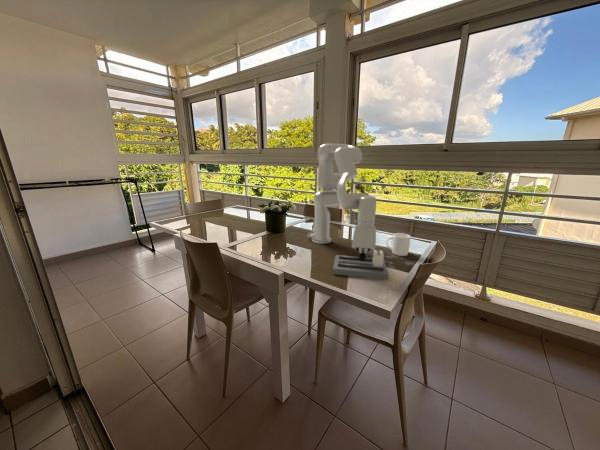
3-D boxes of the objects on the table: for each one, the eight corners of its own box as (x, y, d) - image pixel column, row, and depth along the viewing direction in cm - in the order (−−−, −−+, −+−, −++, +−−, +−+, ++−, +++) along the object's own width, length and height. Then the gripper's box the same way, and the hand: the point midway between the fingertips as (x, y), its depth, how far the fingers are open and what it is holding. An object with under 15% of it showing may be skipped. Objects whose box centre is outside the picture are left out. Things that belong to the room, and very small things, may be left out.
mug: (386, 248, 142) (388, 231, 139) (408, 252, 137) (410, 234, 134) (384, 253, 134) (386, 235, 131) (407, 257, 129) (410, 238, 126)
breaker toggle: (373, 266, 111) (374, 254, 109) (372, 261, 116) (373, 249, 114) (382, 267, 110) (383, 255, 108) (381, 262, 115) (382, 250, 114)
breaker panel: (332, 274, 110) (333, 266, 109) (335, 259, 125) (335, 252, 124) (387, 280, 106) (388, 271, 104) (383, 264, 121) (384, 257, 119)
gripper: (348, 224, 107) (345, 261, 112) (383, 226, 104) (379, 265, 109) (349, 220, 114) (346, 255, 119) (381, 222, 111) (377, 258, 116)
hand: (362, 260), depth 114 cm, fingers closed
